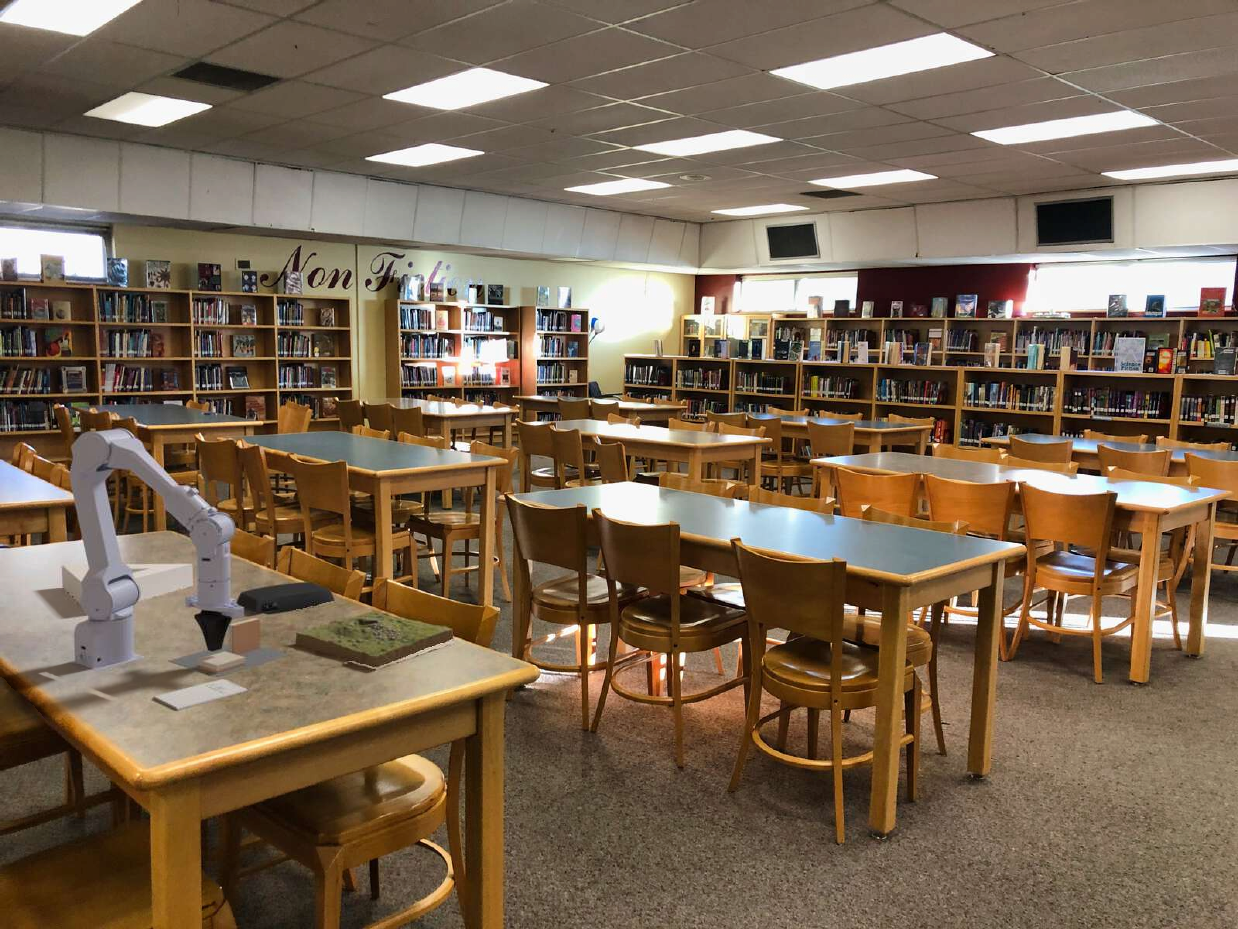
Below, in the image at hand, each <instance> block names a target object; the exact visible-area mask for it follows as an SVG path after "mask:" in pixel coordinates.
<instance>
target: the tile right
mask: <svg viewBox="0 0 1238 929" xmlns="http://www.w3.org/2000/svg"><path fill="white" fill-rule="evenodd" d="M260 624H261V621H260V618H256V617H253V618H250V619H244V620H242V621H237V622H233V623H230V624H229V626H228V644H229V653H232V654H236V655H240V654H243V653H246V652H250V651H253V650H257V649H260V646H261V630H260V629H261V626H260Z"/></svg>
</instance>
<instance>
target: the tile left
mask: <svg viewBox="0 0 1238 929" xmlns="http://www.w3.org/2000/svg"><path fill="white" fill-rule="evenodd" d="M244 665H245V657H243V656H239V655H236V654H232V653H229V652H226V651H224V652H221V653H217V654H214V655H210V656H207V657H203V658H199V659H197V667H198V668H201V669H204V670H208V671H211V672H214V673H221V672H224V671H227V670H230V669H234V668H237V667H240V666H244Z"/></svg>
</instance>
